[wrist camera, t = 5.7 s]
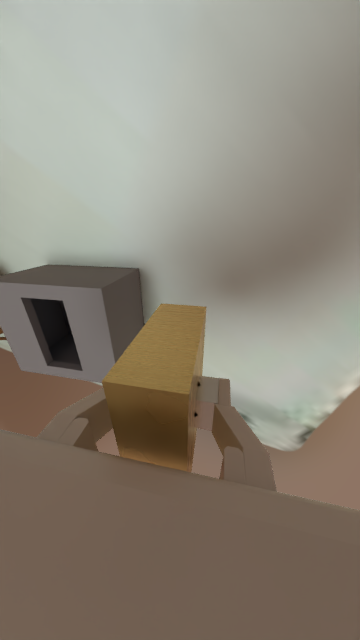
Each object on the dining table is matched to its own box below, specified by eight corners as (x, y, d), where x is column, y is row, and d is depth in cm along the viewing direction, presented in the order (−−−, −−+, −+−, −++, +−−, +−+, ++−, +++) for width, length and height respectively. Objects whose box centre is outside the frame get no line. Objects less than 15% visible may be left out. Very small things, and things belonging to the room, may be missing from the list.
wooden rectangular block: (161, 303, 11) (101, 381, 6) (206, 306, 10) (188, 394, 5) (165, 394, 14) (130, 499, 9) (200, 400, 13) (185, 513, 8)
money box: (47, 264, 28) (-21, 280, 20) (138, 268, 26) (101, 288, 18) (68, 335, 34) (21, 370, 26) (145, 344, 31) (119, 385, 23)
